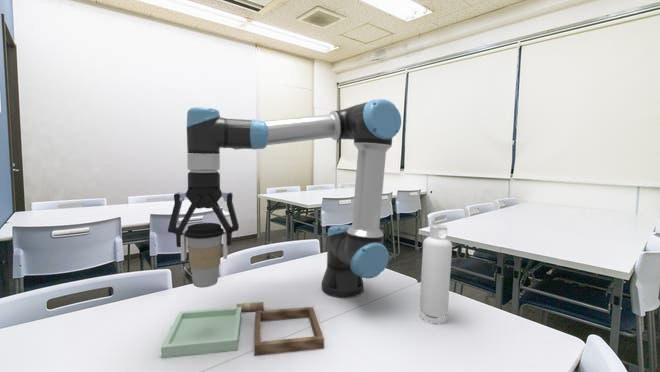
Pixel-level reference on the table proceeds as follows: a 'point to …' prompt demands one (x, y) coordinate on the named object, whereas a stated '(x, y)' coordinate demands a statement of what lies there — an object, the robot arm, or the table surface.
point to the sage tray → (203, 332)
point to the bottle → (435, 275)
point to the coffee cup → (204, 252)
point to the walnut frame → (287, 344)
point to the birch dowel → (251, 306)
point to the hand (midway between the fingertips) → (205, 258)
